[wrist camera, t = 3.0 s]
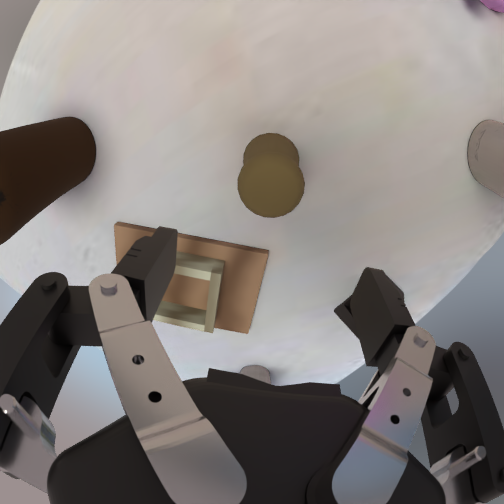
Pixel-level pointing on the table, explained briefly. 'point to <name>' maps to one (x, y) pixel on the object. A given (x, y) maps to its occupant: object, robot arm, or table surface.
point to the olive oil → (40, 168)
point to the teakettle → (494, 4)
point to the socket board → (205, 281)
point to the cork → (271, 176)
